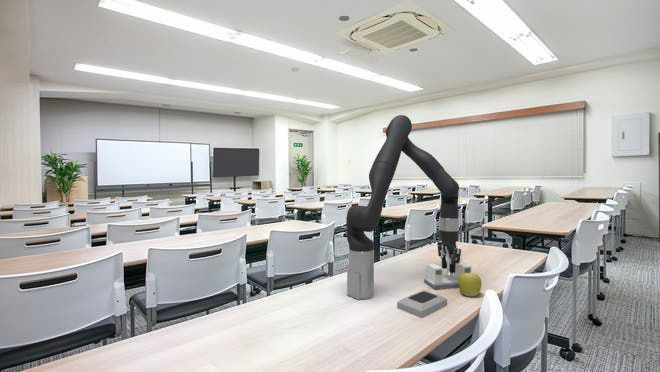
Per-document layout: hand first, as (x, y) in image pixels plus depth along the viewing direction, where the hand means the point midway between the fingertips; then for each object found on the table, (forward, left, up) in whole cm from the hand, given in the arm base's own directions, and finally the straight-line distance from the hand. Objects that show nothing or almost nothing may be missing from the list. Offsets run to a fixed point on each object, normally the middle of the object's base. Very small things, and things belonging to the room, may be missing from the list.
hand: (448, 270), depth 129 cm
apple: (-4, -11, -6) cm, 13 cm away
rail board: (0, 0, -6) cm, 6 cm away
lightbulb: (0, 0, -3) cm, 3 cm away
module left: (-5, +3, -4) cm, 7 cm away
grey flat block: (-26, -5, -7) cm, 27 cm away
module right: (+6, -3, -4) cm, 7 cm away
